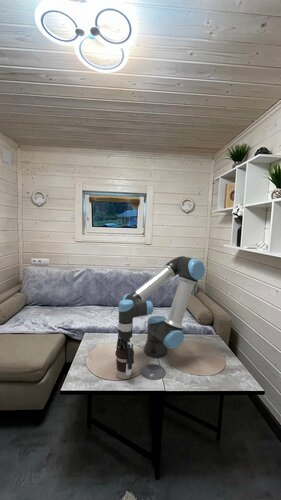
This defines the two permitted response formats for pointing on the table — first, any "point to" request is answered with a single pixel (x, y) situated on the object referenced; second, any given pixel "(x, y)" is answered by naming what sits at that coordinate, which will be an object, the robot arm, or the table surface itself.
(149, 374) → the coaster
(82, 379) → the table surface
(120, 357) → the coffee cup
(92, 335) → the table surface
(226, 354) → the table surface
